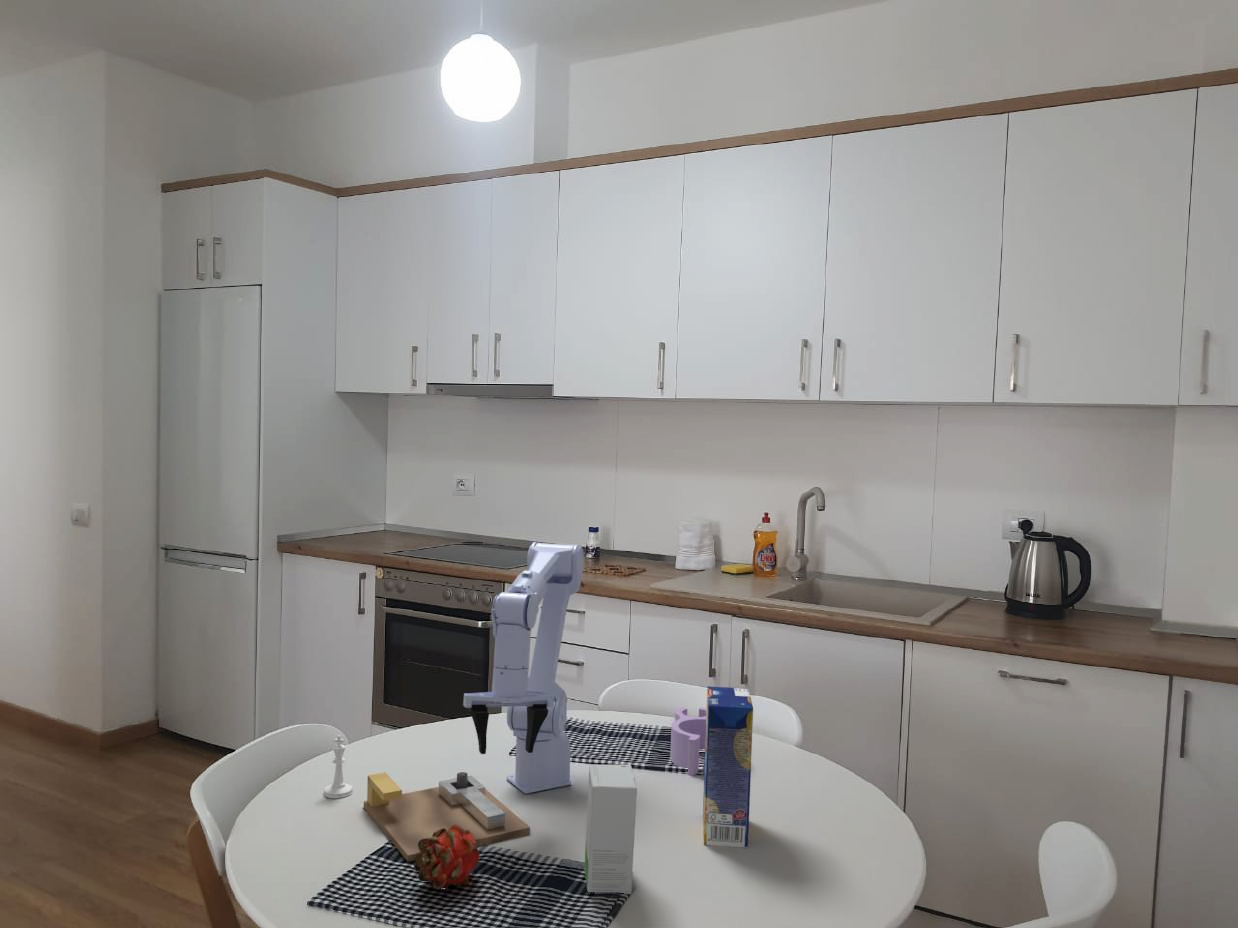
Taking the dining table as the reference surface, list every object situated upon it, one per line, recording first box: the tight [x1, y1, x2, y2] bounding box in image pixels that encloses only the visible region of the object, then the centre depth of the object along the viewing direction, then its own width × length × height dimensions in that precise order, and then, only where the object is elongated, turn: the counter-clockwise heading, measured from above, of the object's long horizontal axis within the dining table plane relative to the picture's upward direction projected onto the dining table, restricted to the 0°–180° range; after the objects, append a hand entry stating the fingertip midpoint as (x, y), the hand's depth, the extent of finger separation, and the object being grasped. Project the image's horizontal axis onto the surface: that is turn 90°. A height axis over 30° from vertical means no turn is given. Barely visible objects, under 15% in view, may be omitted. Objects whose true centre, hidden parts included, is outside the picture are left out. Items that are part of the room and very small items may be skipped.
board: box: [363, 771, 531, 863], centre depth 150 cm, size 20×22×5 cm
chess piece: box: [323, 734, 354, 799], centre depth 160 cm, size 5×5×10 cm
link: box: [438, 775, 505, 830], centre depth 152 cm, size 17×6×2 cm, turn 32°
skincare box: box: [584, 764, 638, 895], centre depth 131 cm, size 8×7×16 cm
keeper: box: [366, 772, 403, 807], centre depth 151 cm, size 3×8×4 cm, turn 32°
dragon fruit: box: [413, 825, 480, 890], centre depth 130 cm, size 8×8×12 cm
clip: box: [669, 706, 707, 777], centre depth 183 cm, size 20×12×7 cm, turn 5°
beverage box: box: [702, 685, 754, 849], centre depth 149 cm, size 7×11×22 cm, turn 176°
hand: (505, 751), depth 149 cm, fingers open, 7 cm apart
